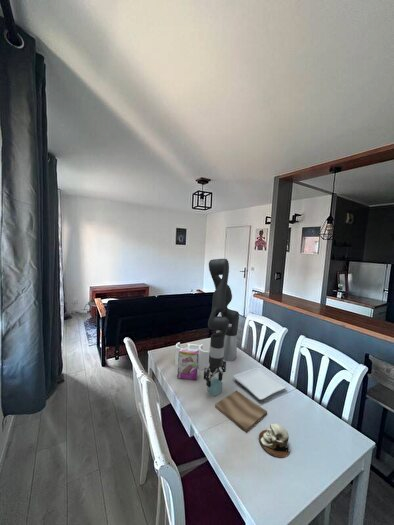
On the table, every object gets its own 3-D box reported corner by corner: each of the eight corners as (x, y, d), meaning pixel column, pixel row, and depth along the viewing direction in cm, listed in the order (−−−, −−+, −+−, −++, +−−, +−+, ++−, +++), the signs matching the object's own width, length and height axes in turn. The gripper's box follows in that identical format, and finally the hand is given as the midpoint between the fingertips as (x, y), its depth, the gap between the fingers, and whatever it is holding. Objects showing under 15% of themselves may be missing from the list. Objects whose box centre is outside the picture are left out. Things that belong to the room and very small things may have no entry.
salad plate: (287, 391, 120) (288, 385, 119) (260, 405, 108) (260, 399, 108) (257, 371, 138) (258, 365, 137) (231, 381, 126) (232, 375, 126)
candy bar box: (177, 378, 126) (178, 351, 124) (178, 373, 131) (179, 347, 129) (196, 380, 125) (198, 353, 123) (197, 375, 129) (199, 348, 128)
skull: (264, 457, 81) (260, 423, 87) (258, 454, 89) (254, 423, 95) (297, 458, 81) (290, 423, 87) (288, 455, 89) (282, 423, 95)
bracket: (173, 367, 137) (174, 348, 136) (176, 358, 147) (177, 341, 145) (213, 371, 134) (214, 352, 133) (214, 363, 144) (215, 345, 143)
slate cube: (214, 386, 121) (215, 377, 120) (222, 391, 117) (222, 382, 116) (207, 390, 117) (207, 380, 116) (214, 396, 113) (215, 386, 112)
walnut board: (236, 393, 116) (236, 390, 116) (266, 414, 103) (267, 411, 102) (215, 407, 106) (215, 404, 105) (246, 432, 92) (246, 429, 92)
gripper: (220, 347, 122) (218, 375, 124) (201, 354, 113) (199, 384, 114) (230, 353, 117) (228, 382, 118) (211, 361, 107) (209, 392, 109)
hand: (214, 383), depth 116 cm, fingers open, 8 cm apart
